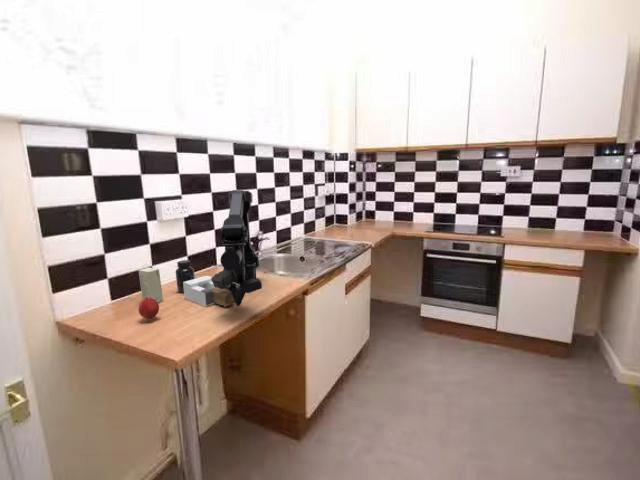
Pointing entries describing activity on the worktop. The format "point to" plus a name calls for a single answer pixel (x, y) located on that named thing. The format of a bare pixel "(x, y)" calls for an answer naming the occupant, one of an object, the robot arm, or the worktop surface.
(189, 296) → the sleeve
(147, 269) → the skincare box
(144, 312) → the onion
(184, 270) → the supplement bottle
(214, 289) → the peg
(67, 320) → the worktop surface
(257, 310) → the worktop surface
